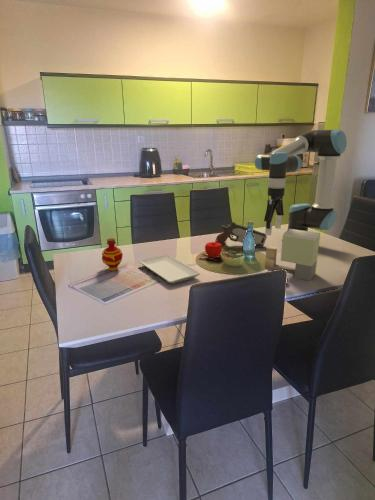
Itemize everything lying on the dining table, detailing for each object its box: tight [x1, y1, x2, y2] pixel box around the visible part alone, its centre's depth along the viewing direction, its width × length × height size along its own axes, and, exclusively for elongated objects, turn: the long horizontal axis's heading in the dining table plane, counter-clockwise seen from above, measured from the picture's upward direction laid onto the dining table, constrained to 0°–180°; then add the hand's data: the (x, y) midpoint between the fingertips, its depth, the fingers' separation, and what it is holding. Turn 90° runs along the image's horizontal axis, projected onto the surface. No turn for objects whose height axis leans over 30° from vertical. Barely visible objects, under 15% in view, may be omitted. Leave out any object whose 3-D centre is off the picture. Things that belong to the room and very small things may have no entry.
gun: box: [214, 221, 268, 249], centre depth 201 cm, size 5×27×15 cm, turn 79°
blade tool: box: [264, 245, 295, 274], centre depth 166 cm, size 4×15×10 cm, turn 57°
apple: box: [204, 241, 223, 259], centre depth 183 cm, size 9×9×8 cm
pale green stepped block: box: [280, 229, 321, 282], centre depth 158 cm, size 10×15×20 cm
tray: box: [138, 254, 201, 284], centre depth 164 cm, size 17×32×4 cm, turn 33°
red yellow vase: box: [101, 237, 124, 272], centre depth 167 cm, size 10×10×15 cm
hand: (273, 231), depth 164 cm, fingers open, 13 cm apart
